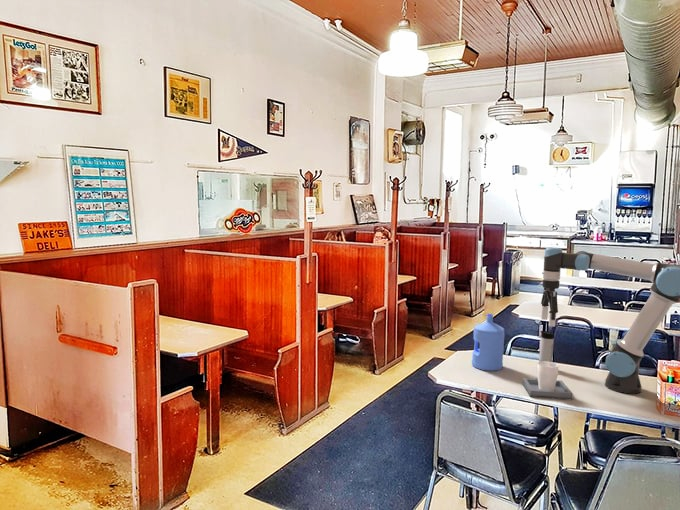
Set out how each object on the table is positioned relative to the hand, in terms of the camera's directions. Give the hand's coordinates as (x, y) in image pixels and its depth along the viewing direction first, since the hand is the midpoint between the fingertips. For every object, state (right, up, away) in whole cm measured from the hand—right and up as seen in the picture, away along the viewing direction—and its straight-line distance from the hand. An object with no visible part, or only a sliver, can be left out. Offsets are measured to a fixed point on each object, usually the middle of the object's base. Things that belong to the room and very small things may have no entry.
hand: (548, 322), depth 245 cm
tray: (-6, -30, -12) cm, 33 cm away
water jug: (-23, -26, +21) cm, 41 cm away
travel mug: (+7, -27, +20) cm, 34 cm away
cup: (-6, -29, -12) cm, 32 cm away
